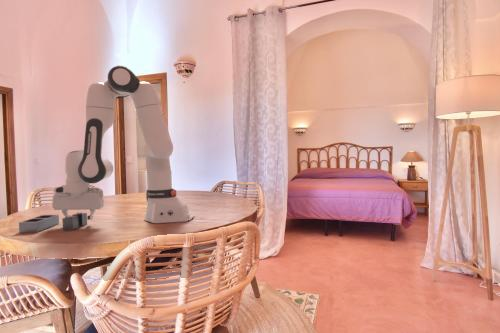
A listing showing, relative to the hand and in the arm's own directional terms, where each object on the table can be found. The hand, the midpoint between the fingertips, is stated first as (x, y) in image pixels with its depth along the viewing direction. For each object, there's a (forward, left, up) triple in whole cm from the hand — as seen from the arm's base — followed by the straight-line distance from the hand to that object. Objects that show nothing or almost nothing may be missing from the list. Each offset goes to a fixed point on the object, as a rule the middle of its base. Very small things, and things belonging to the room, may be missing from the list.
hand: (79, 219), depth 126 cm
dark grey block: (0, +7, -3) cm, 7 cm away
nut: (0, 0, -3) cm, 3 cm away
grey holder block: (+14, +3, -2) cm, 15 cm away
